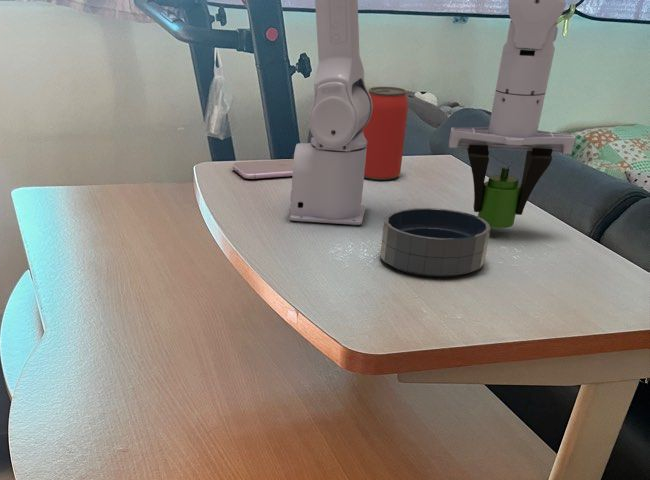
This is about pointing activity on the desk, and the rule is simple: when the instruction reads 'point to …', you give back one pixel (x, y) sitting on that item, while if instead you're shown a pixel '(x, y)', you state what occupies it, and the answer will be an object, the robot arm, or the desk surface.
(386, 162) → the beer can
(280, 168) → the mobile phone
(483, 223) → the bowl
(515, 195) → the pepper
